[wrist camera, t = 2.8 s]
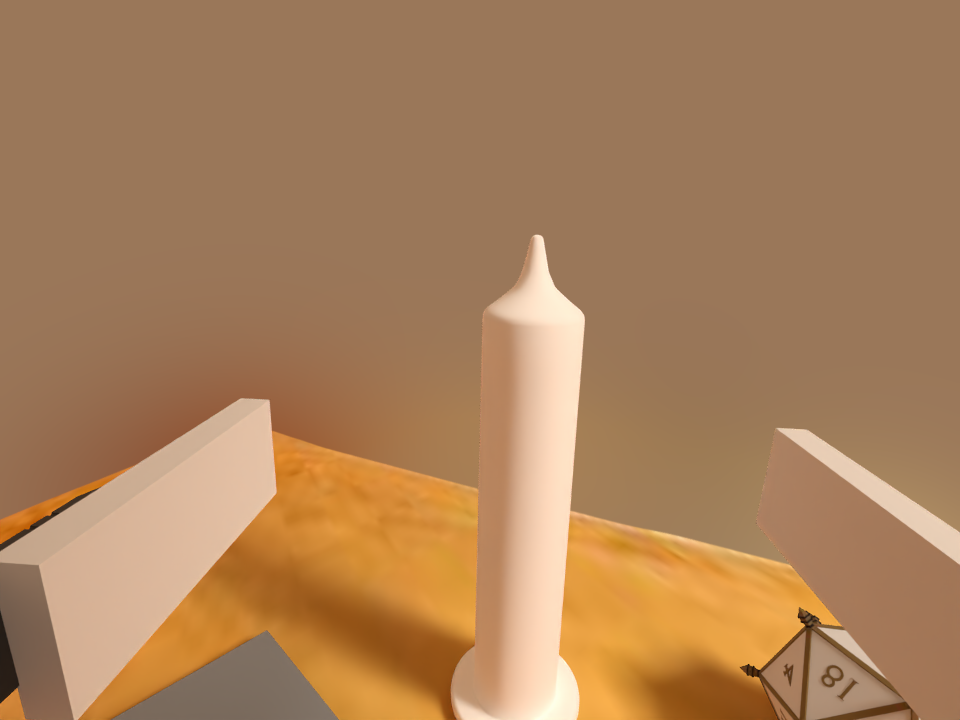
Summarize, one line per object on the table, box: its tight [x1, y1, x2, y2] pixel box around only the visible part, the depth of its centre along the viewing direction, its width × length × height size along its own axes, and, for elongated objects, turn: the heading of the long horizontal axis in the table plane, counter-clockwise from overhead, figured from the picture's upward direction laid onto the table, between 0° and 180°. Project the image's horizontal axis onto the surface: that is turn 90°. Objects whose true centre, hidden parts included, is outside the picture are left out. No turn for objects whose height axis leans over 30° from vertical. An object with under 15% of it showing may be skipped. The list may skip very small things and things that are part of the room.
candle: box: [451, 235, 585, 720], centre depth 24 cm, size 7×7×25 cm
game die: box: [740, 607, 921, 720], centre depth 23 cm, size 9×8×10 cm
